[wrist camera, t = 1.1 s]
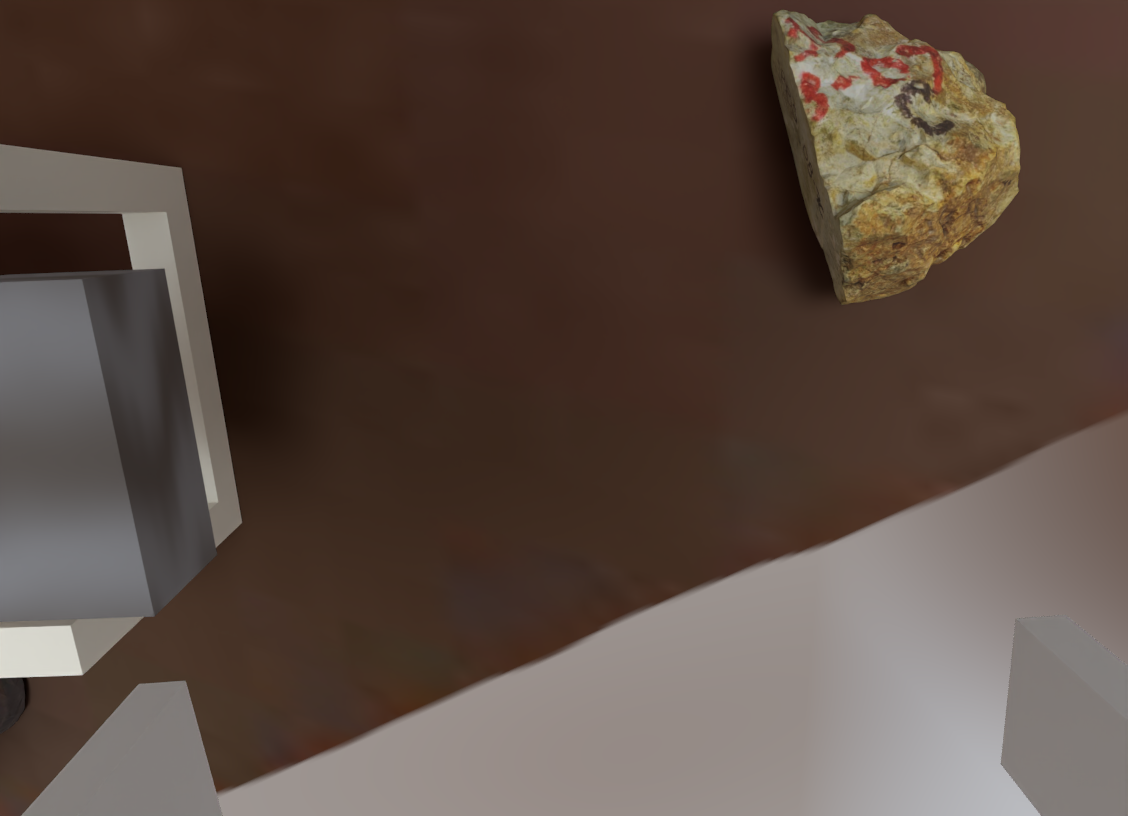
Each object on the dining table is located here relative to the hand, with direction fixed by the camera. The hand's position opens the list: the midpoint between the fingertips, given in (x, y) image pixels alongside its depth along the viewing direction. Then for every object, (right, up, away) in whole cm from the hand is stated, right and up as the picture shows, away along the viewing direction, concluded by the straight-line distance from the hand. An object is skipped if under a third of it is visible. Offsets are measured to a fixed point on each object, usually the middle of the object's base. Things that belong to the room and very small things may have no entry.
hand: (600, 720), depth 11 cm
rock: (+13, +17, +22) cm, 31 cm away
